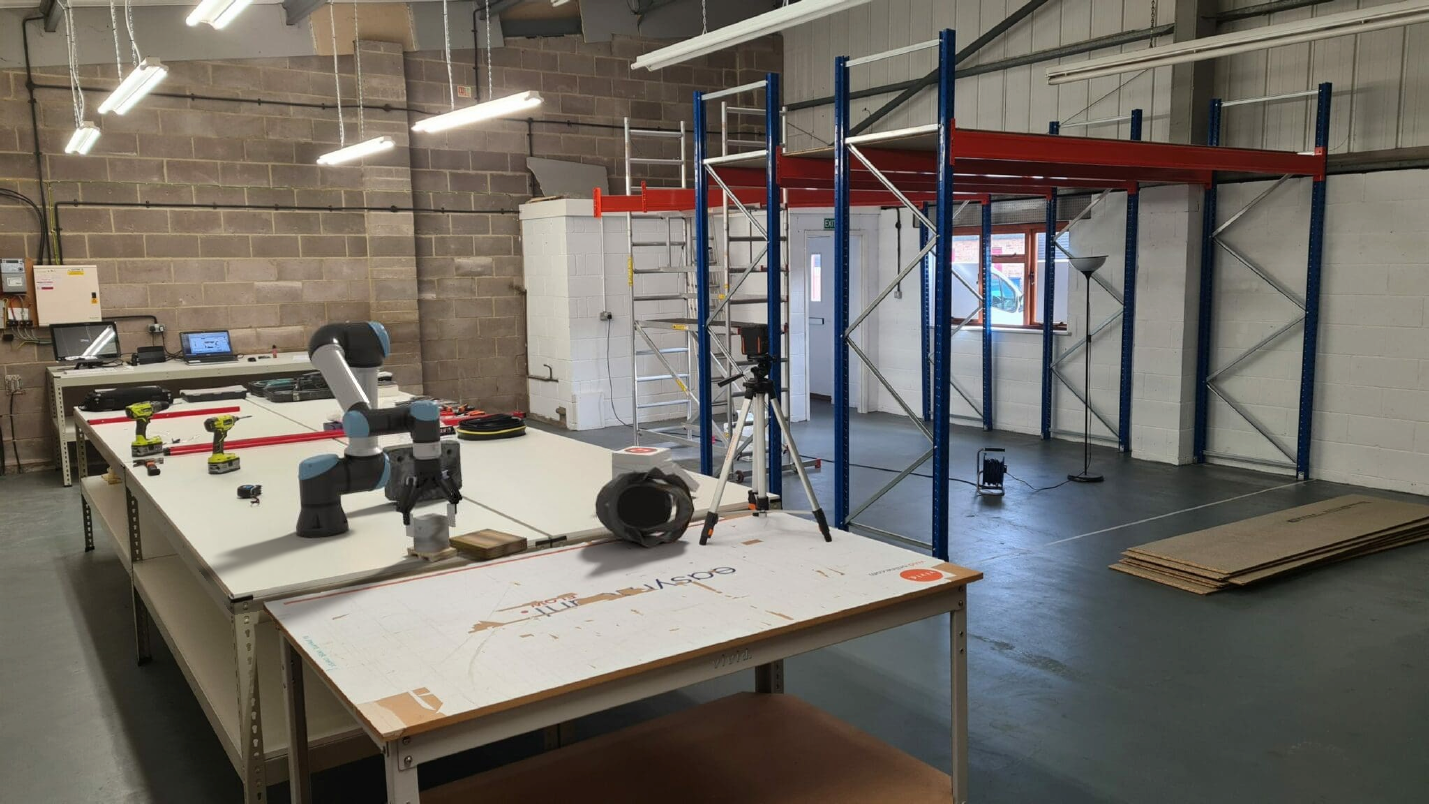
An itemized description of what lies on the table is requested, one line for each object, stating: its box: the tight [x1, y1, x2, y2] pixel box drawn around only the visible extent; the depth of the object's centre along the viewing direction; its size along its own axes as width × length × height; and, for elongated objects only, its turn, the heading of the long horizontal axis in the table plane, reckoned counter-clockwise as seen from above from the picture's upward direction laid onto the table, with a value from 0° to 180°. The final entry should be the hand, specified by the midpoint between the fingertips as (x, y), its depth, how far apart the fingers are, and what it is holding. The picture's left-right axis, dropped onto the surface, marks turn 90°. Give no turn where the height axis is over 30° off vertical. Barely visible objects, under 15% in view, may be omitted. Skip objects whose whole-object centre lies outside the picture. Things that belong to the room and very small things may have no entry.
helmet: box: [595, 467, 695, 549], centre depth 290 cm, size 23×32×25 cm
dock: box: [449, 528, 528, 560], centre depth 282 cm, size 14×18×3 cm
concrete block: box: [381, 439, 463, 503], centre depth 345 cm, size 27×9×20 cm, turn 125°
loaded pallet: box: [406, 512, 458, 563], centre depth 275 cm, size 8×12×11 cm, turn 51°
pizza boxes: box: [611, 445, 700, 503], centre depth 343 cm, size 19×30×18 cm, turn 135°
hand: (431, 531), depth 275 cm, fingers open, 13 cm apart
